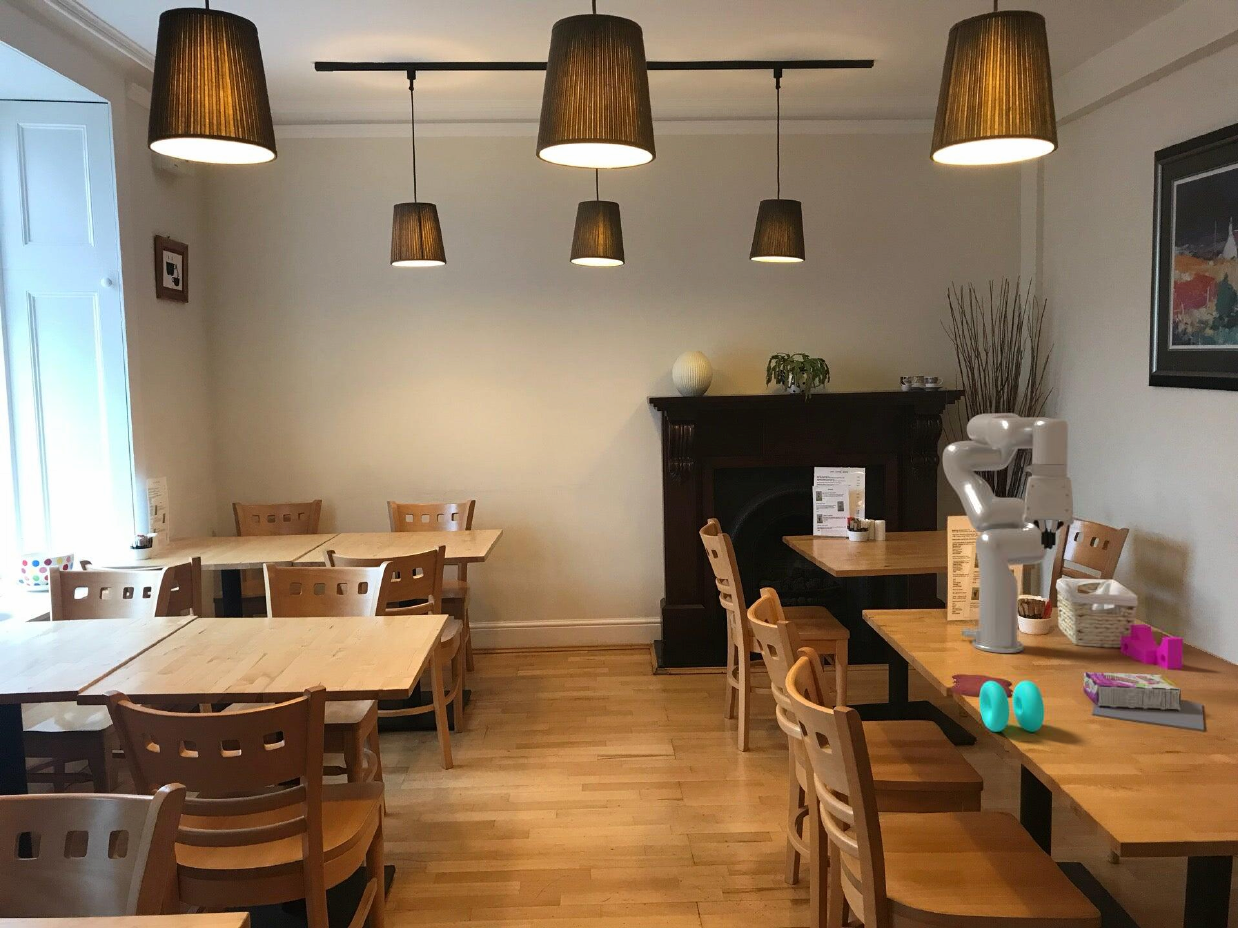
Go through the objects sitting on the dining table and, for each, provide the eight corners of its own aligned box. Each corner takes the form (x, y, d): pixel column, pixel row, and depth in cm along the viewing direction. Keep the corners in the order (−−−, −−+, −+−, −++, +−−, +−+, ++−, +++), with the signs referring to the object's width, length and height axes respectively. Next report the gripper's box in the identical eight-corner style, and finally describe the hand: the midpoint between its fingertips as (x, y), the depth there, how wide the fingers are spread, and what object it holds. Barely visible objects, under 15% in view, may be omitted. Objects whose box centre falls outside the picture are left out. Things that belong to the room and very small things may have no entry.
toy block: (1120, 653, 243) (1121, 624, 243) (1144, 652, 244) (1144, 624, 243) (1157, 669, 228) (1158, 639, 228) (1182, 668, 229) (1182, 638, 228)
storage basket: (1053, 626, 272) (1054, 576, 271) (1114, 629, 268) (1115, 578, 267) (1071, 648, 249) (1072, 593, 248) (1139, 651, 245) (1140, 595, 244)
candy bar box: (1083, 669, 210) (1162, 673, 207) (1082, 691, 211) (1162, 695, 207) (1097, 684, 200) (1182, 688, 196) (1097, 707, 200) (1181, 712, 197)
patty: (950, 677, 226) (950, 669, 226) (1012, 682, 221) (1012, 674, 221) (947, 699, 210) (947, 690, 210) (1014, 706, 205) (1014, 697, 204)
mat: (1091, 715, 196) (1091, 713, 196) (1098, 691, 212) (1098, 689, 212) (1203, 731, 186) (1204, 729, 186) (1201, 705, 202) (1201, 703, 202)
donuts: (977, 721, 194) (977, 674, 193) (1025, 721, 194) (1026, 674, 193) (994, 739, 184) (995, 689, 183) (1046, 738, 184) (1047, 689, 183)
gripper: (1013, 471, 221) (1012, 548, 222) (1083, 473, 213) (1081, 552, 214) (1017, 469, 227) (1016, 544, 229) (1086, 470, 220) (1084, 548, 221)
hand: (1048, 548), depth 221 cm, fingers closed
